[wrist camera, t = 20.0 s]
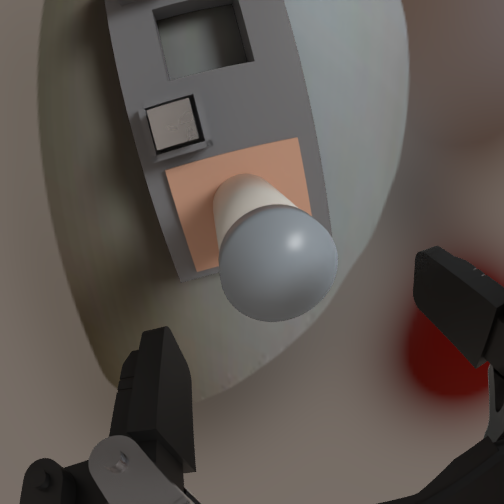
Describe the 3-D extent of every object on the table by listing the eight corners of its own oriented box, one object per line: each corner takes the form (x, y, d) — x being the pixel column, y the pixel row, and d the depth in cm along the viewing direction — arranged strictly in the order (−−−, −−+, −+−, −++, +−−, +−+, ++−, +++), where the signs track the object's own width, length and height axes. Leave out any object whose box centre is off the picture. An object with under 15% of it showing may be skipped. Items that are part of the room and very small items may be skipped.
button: (154, 112, 17) (146, 110, 15) (190, 102, 18) (188, 97, 15) (163, 147, 18) (157, 150, 16) (199, 136, 18) (198, 138, 16)
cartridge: (200, 186, 20) (201, 240, 11) (266, 162, 20) (323, 194, 11) (225, 246, 22) (244, 336, 12) (286, 223, 22) (346, 296, 12)
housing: (109, -14, 14) (93, -37, 10) (256, -46, 15) (268, -73, 11) (182, 268, 25) (179, 296, 21) (321, 230, 25) (343, 251, 21)
